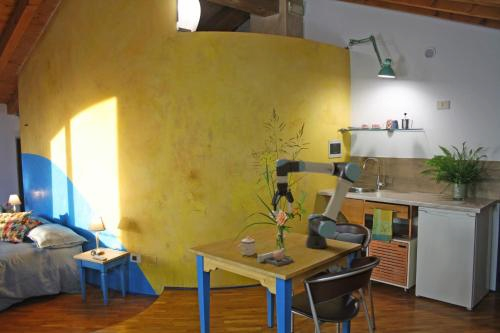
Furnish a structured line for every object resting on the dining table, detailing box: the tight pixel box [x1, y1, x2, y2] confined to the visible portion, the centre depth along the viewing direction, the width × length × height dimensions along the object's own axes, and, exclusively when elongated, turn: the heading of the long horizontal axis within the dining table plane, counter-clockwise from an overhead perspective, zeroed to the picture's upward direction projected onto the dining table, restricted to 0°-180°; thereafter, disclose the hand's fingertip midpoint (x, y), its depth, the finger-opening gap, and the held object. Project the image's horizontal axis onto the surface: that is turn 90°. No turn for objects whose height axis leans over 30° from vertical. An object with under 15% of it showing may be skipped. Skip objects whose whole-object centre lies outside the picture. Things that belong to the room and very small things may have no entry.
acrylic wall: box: [256, 247, 286, 263], centre depth 262 cm, size 23×2×5 cm, turn 131°
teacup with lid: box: [237, 235, 256, 256], centre depth 273 cm, size 12×9×12 cm
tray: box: [263, 255, 294, 267], centre depth 256 cm, size 14×12×2 cm
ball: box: [274, 250, 284, 261], centre depth 256 cm, size 6×6×6 cm
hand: (283, 214), depth 270 cm, fingers open, 13 cm apart
